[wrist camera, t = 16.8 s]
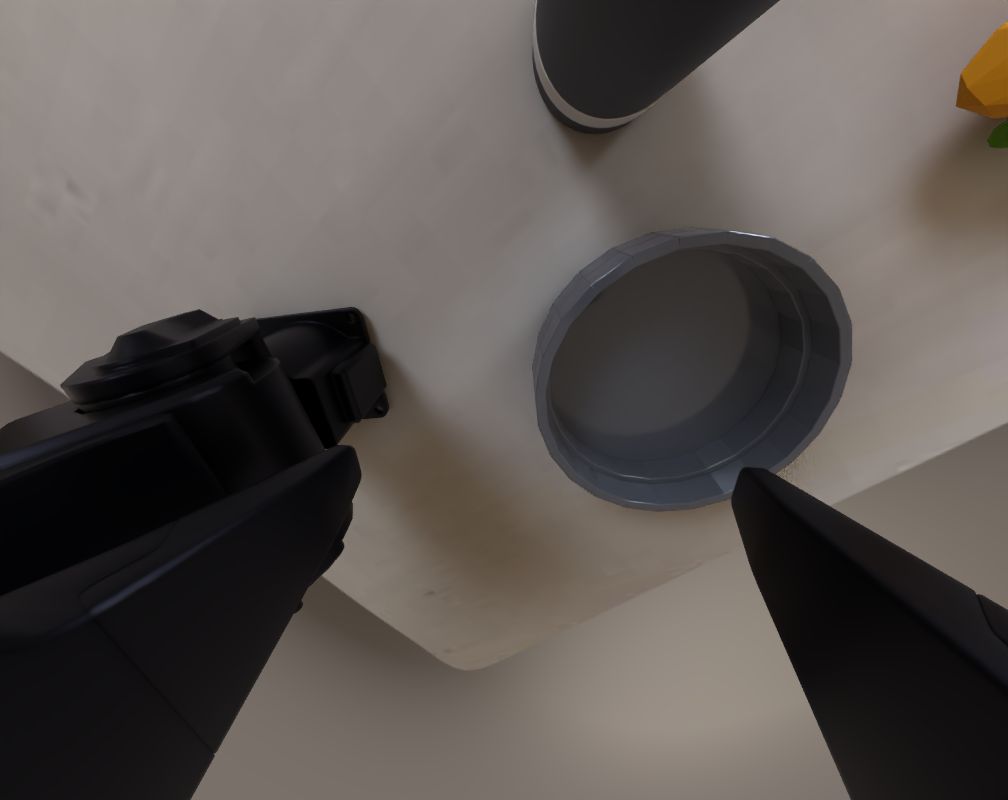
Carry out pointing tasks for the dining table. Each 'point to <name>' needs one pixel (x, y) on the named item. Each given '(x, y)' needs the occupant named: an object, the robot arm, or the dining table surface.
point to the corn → (988, 84)
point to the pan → (689, 366)
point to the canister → (626, 52)
